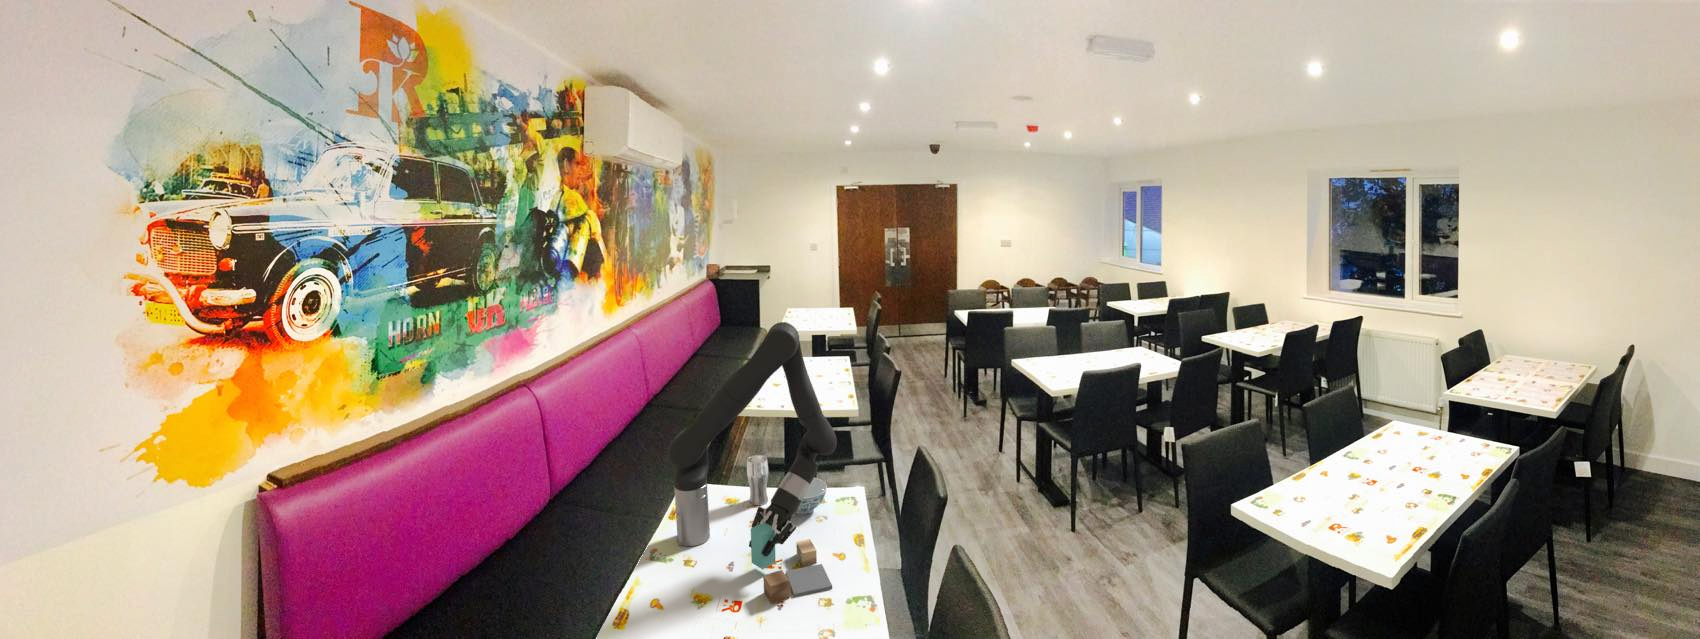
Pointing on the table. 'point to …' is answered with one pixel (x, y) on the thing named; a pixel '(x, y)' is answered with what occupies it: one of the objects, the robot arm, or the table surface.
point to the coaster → (808, 580)
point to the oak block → (806, 552)
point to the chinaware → (812, 496)
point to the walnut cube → (776, 586)
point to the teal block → (761, 545)
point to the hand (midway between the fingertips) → (757, 551)
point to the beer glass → (757, 479)
